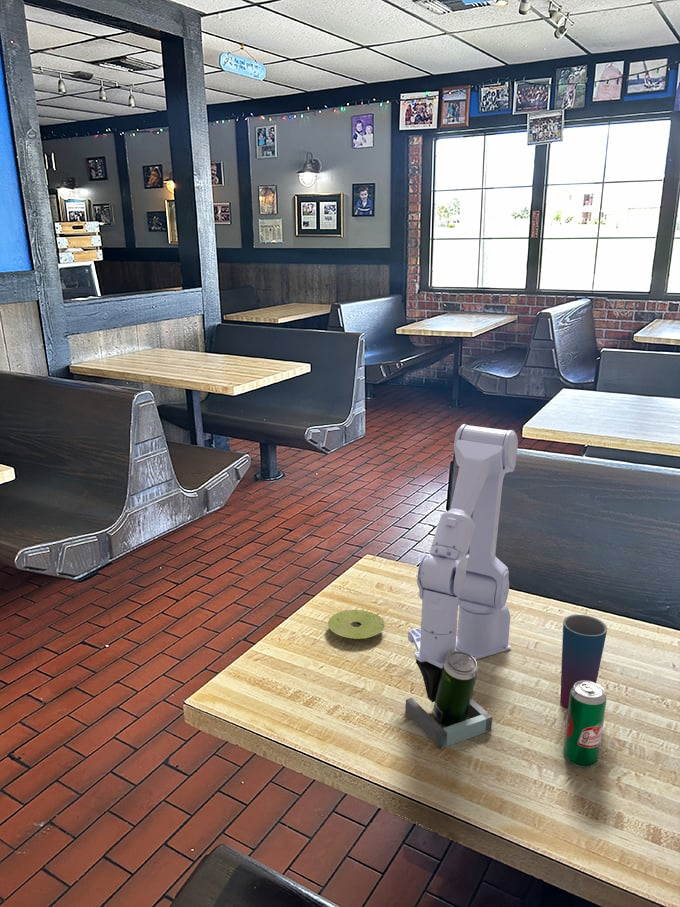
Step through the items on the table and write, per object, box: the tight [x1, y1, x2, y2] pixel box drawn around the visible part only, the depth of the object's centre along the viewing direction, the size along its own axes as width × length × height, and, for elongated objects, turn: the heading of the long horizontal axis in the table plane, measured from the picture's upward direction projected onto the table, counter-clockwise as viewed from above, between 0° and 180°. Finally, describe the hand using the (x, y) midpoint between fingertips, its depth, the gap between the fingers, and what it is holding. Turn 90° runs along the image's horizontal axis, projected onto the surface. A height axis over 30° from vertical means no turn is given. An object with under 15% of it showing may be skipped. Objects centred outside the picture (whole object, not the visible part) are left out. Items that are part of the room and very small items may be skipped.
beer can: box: [432, 650, 479, 728], centre depth 113 cm, size 5×5×12 cm
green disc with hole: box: [327, 609, 385, 640], centre depth 142 cm, size 11×11×2 cm
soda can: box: [562, 680, 607, 768], centre depth 106 cm, size 5×5×12 cm
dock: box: [404, 697, 493, 750], centre depth 115 cm, size 10×10×2 cm
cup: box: [559, 614, 608, 711], centre depth 118 cm, size 7×7×15 cm
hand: (435, 698), depth 118 cm, fingers closed
